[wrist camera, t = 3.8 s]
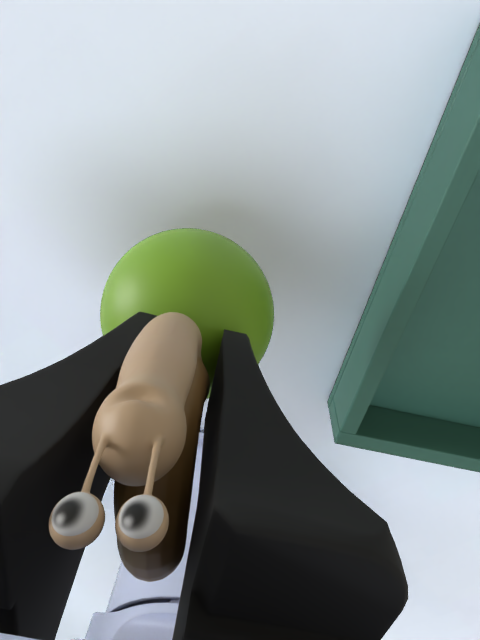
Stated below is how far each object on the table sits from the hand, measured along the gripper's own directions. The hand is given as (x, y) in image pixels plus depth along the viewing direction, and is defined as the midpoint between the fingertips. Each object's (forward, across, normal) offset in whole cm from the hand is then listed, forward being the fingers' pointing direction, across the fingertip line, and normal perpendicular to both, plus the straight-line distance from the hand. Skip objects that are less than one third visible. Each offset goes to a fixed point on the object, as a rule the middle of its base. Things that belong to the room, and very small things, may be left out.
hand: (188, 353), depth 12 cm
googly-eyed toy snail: (+5, +1, -1) cm, 5 cm away
